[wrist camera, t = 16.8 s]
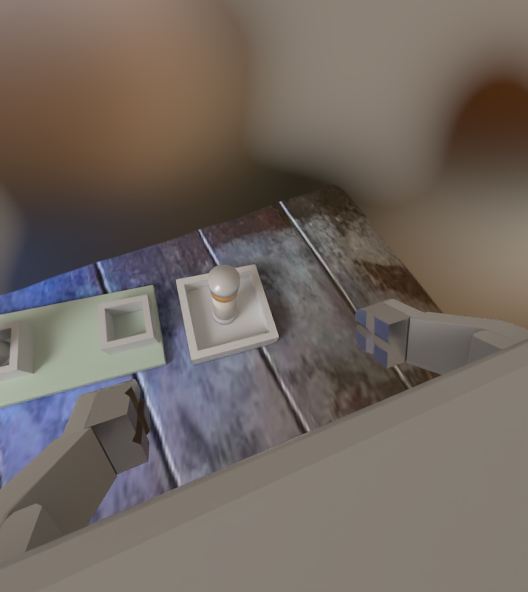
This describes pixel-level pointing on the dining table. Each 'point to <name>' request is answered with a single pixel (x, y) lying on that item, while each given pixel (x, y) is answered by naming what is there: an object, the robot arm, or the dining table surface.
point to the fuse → (4, 352)
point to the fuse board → (79, 343)
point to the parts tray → (233, 337)
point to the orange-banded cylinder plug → (224, 293)
